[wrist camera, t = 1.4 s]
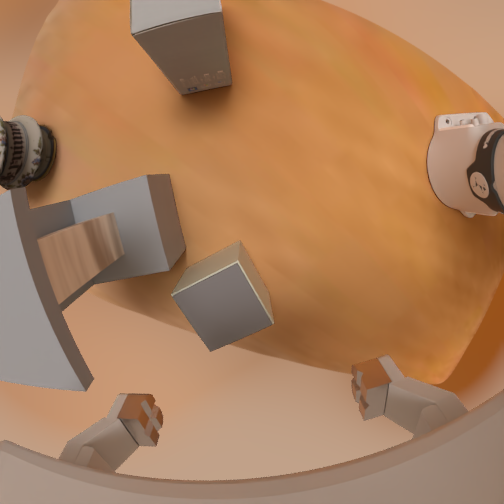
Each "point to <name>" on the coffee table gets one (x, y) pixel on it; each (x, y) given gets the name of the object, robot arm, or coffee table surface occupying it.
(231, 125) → the coffee table surface
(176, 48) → the hard drive box
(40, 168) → the apothecary jar
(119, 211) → the grey podium
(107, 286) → the coffee table surface
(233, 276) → the stand
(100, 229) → the block
